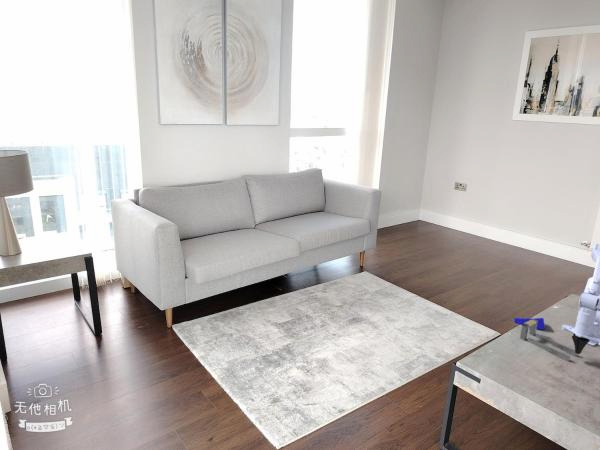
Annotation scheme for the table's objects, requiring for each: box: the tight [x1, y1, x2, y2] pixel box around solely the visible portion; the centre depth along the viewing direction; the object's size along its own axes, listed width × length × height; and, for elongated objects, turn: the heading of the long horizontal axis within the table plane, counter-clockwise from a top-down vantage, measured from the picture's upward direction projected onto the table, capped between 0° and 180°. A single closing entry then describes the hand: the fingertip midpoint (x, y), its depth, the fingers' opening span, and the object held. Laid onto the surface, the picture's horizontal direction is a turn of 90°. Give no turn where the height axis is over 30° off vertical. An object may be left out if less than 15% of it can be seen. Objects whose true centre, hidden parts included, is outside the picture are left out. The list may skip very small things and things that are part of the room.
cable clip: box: [513, 317, 546, 330], centre depth 197 cm, size 12×4×6 cm
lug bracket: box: [519, 318, 538, 341], centre depth 186 cm, size 9×2×8 cm, turn 124°
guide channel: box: [527, 333, 579, 362], centre depth 178 cm, size 8×17×2 cm, turn 34°
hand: (578, 352), depth 170 cm, fingers closed
